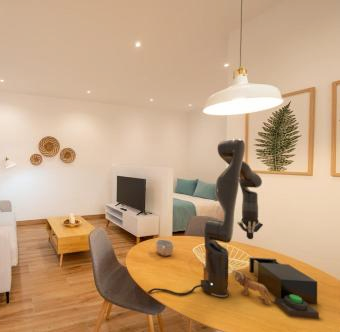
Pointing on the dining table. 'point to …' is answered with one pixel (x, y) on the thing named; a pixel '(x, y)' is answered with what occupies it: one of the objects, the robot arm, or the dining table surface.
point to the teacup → (164, 247)
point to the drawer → (254, 262)
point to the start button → (296, 299)
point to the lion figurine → (252, 286)
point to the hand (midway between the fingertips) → (249, 238)
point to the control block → (296, 308)
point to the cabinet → (287, 282)
